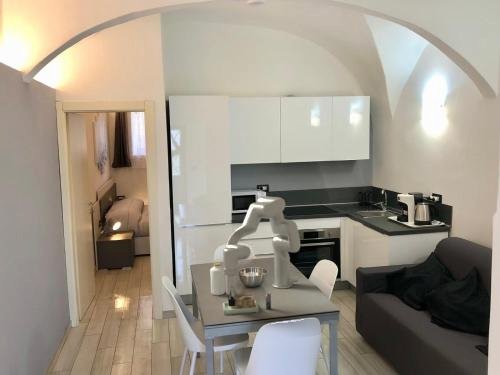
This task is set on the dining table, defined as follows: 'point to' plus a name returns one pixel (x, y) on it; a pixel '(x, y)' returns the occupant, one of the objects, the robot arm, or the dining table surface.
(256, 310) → the sage tray
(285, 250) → the robot arm
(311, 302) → the dining table surface
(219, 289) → the potion bottle
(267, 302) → the steel stake
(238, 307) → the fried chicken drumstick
